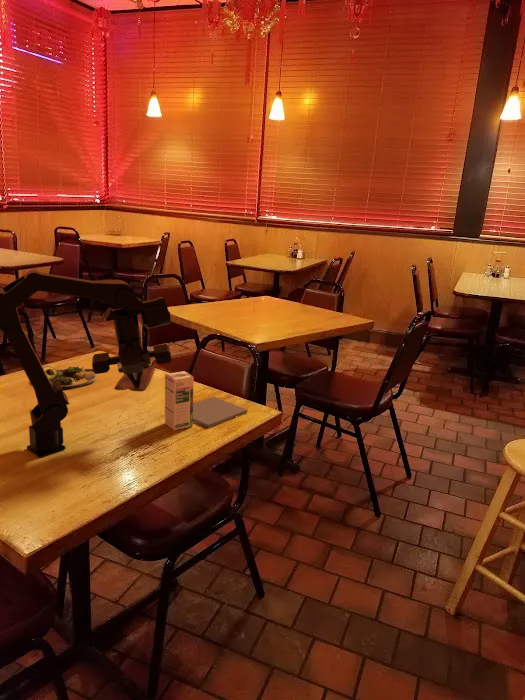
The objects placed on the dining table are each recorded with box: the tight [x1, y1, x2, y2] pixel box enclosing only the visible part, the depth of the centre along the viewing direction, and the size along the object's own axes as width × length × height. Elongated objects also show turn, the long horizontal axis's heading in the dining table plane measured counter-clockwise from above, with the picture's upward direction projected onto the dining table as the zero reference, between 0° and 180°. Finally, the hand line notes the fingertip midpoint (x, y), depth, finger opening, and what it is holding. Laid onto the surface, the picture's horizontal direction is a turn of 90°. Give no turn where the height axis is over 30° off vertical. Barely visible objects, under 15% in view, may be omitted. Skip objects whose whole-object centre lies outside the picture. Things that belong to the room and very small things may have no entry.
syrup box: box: [164, 370, 195, 432], centre depth 137 cm, size 6×6×14 cm
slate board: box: [193, 395, 248, 429], centre depth 148 cm, size 16×14×1 cm
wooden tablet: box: [115, 364, 156, 392], centre depth 174 cm, size 26×2×10 cm
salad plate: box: [42, 365, 98, 390], centre depth 167 cm, size 19×18×5 cm
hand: (137, 387), depth 130 cm, fingers closed
